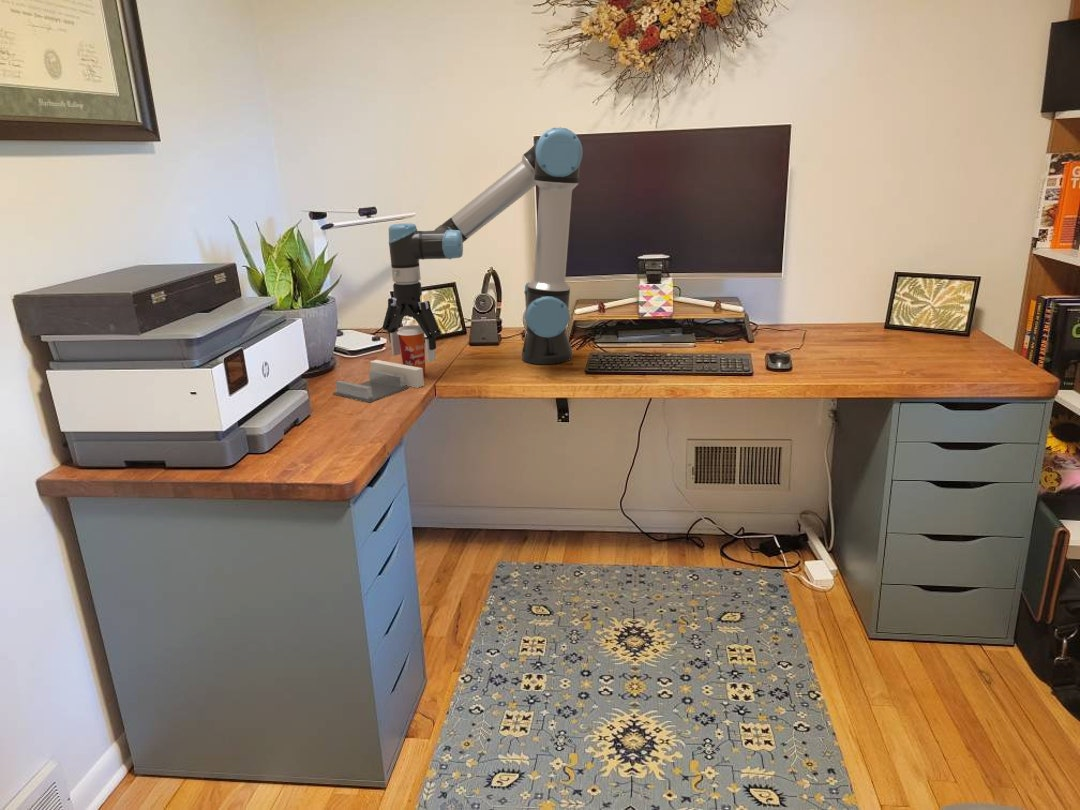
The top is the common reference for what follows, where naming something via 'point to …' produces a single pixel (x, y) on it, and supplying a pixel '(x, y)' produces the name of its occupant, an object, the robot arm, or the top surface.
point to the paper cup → (412, 346)
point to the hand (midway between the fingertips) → (413, 357)
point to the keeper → (372, 386)
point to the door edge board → (401, 372)
